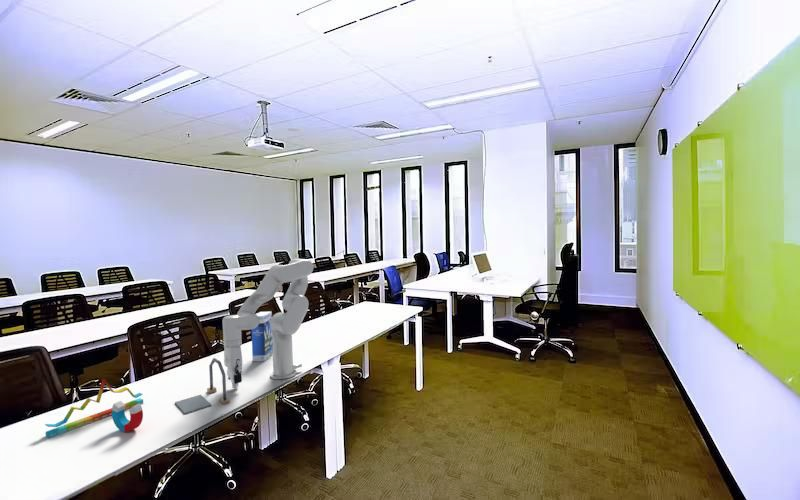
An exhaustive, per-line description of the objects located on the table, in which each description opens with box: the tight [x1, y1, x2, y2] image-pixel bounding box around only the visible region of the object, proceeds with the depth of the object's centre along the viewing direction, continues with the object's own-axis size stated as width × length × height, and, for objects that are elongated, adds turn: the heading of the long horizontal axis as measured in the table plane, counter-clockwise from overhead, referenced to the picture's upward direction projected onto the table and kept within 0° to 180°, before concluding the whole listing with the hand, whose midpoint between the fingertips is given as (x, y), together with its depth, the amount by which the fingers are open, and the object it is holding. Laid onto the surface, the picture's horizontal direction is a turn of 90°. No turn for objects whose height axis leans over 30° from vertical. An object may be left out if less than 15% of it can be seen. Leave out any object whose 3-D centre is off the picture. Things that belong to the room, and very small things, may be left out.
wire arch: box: [206, 357, 231, 405], centre depth 161 cm, size 3×19×17 cm, turn 45°
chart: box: [44, 378, 144, 439], centre depth 144 cm, size 30×3×15 cm, turn 150°
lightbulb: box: [226, 366, 243, 389], centre depth 169 cm, size 6×6×11 cm
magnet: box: [111, 400, 144, 433], centre depth 134 cm, size 12×3×10 cm, turn 74°
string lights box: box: [251, 311, 273, 362], centre depth 213 cm, size 13×8×26 cm, turn 179°
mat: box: [174, 394, 212, 415], centre depth 154 cm, size 10×14×1 cm
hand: (234, 380), depth 170 cm, fingers closed on lightbulb, 6 cm apart
